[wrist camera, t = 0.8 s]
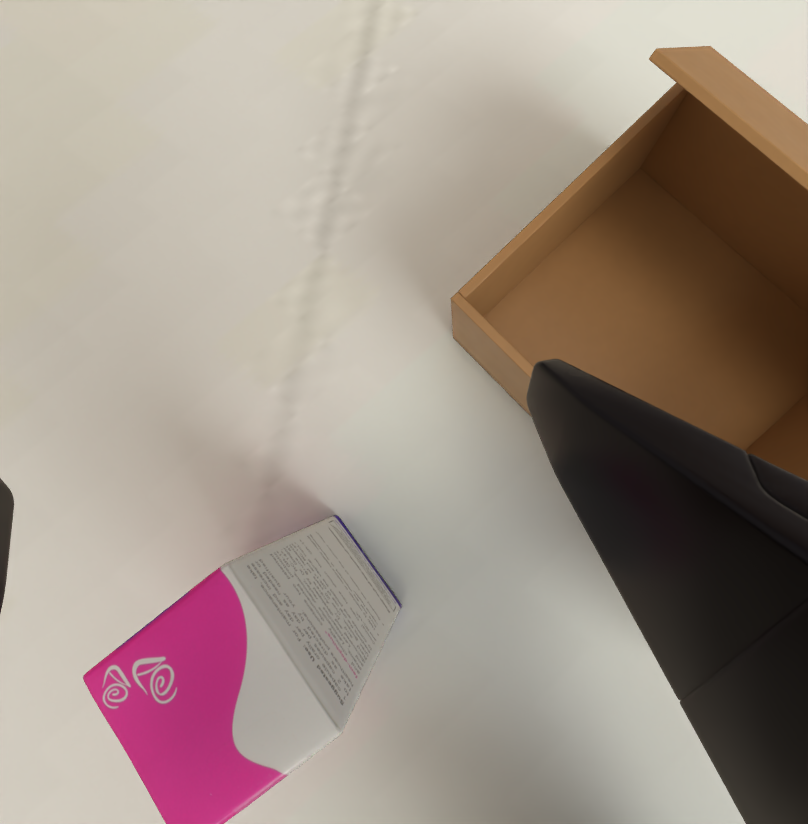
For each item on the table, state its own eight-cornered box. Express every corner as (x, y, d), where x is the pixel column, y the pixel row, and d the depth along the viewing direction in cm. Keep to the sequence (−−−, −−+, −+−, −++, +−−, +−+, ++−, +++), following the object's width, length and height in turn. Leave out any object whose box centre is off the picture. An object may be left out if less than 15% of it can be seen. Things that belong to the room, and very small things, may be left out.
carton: (452, 337, 25) (450, 298, 19) (636, 162, 25) (698, 61, 18) (654, 541, 23) (729, 575, 17) (857, 354, 23) (1012, 316, 16)
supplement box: (334, 509, 25) (229, 557, 13) (405, 605, 24) (355, 743, 13) (247, 577, 25) (71, 681, 14) (313, 675, 24) (185, 871, 13)
